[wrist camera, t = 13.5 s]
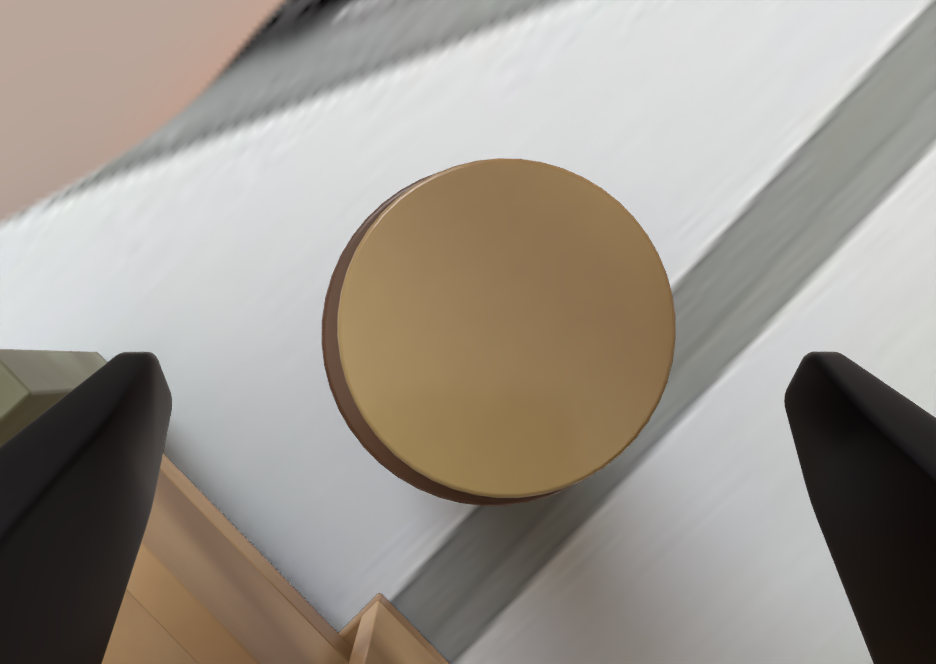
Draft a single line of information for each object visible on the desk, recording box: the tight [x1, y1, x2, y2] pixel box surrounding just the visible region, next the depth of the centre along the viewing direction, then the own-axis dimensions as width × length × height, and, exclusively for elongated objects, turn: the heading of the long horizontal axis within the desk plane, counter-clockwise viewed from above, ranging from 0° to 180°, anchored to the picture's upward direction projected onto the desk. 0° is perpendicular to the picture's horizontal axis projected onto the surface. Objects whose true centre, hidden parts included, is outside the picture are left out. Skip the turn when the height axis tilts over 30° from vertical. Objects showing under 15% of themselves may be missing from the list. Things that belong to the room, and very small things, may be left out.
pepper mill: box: [322, 159, 676, 506], centre depth 12 cm, size 4×4×11 cm
